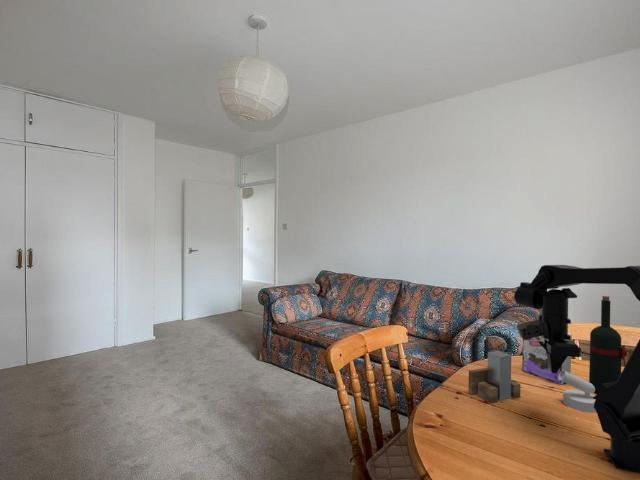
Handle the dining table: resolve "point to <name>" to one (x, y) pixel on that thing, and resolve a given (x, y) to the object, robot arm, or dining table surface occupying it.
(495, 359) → the grey square pillar
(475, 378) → the bench
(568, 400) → the wall hook
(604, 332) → the wine bottle
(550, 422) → the dining table surface
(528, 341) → the candy box
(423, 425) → the dining table surface
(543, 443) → the dining table surface
